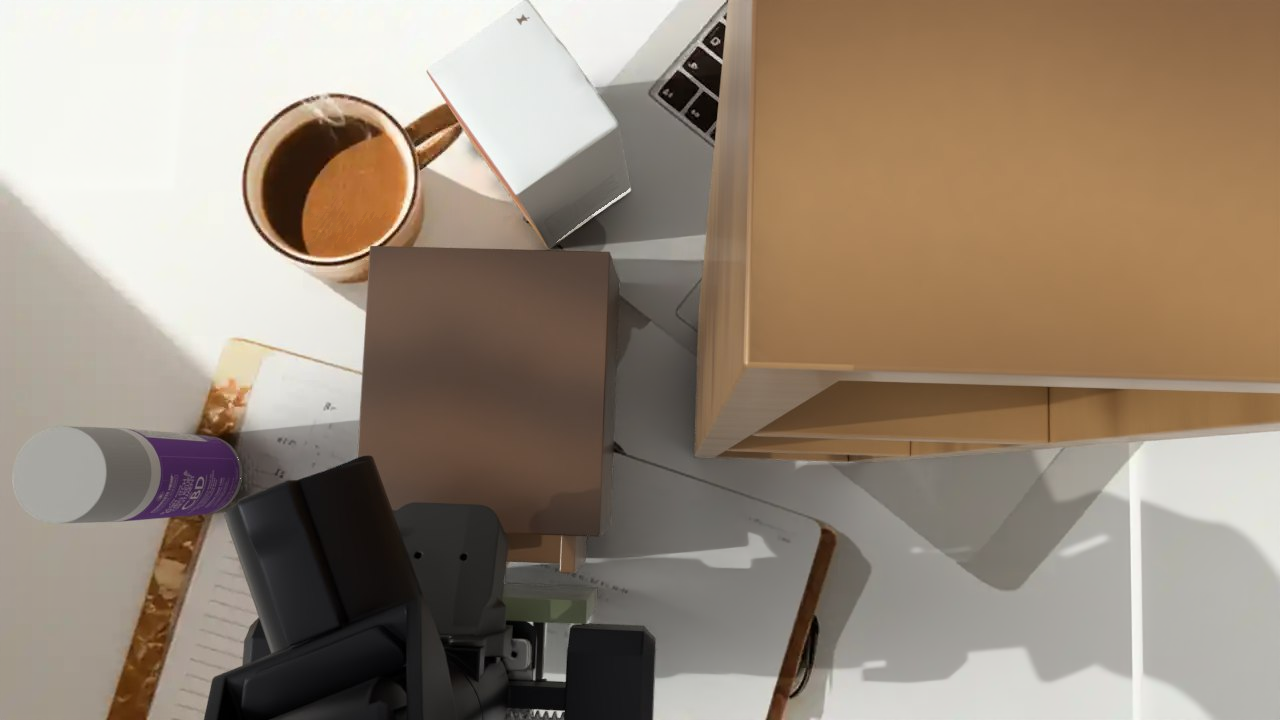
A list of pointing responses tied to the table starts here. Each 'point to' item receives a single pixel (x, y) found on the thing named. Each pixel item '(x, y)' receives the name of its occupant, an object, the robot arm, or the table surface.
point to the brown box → (494, 382)
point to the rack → (990, 227)
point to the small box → (535, 121)
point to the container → (123, 475)
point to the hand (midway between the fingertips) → (484, 658)
